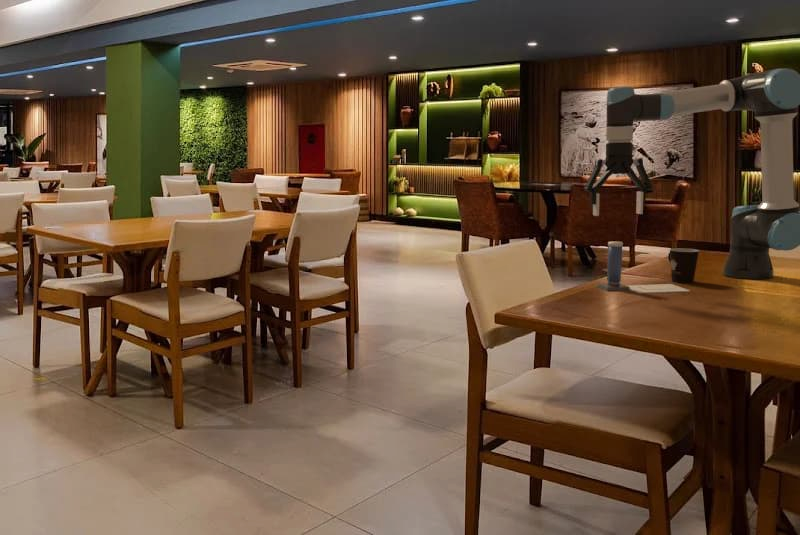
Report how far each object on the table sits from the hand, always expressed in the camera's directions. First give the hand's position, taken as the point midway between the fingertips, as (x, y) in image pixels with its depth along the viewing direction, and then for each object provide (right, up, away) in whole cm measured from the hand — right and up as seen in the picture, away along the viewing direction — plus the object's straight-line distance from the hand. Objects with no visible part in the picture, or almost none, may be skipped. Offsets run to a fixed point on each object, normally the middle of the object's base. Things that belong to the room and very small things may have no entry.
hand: (617, 214), depth 224 cm
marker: (0, -21, +3) cm, 21 cm away
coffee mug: (+25, -20, +16) cm, 36 cm away
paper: (+12, -22, +2) cm, 25 cm away
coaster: (0, -22, +3) cm, 22 cm away
